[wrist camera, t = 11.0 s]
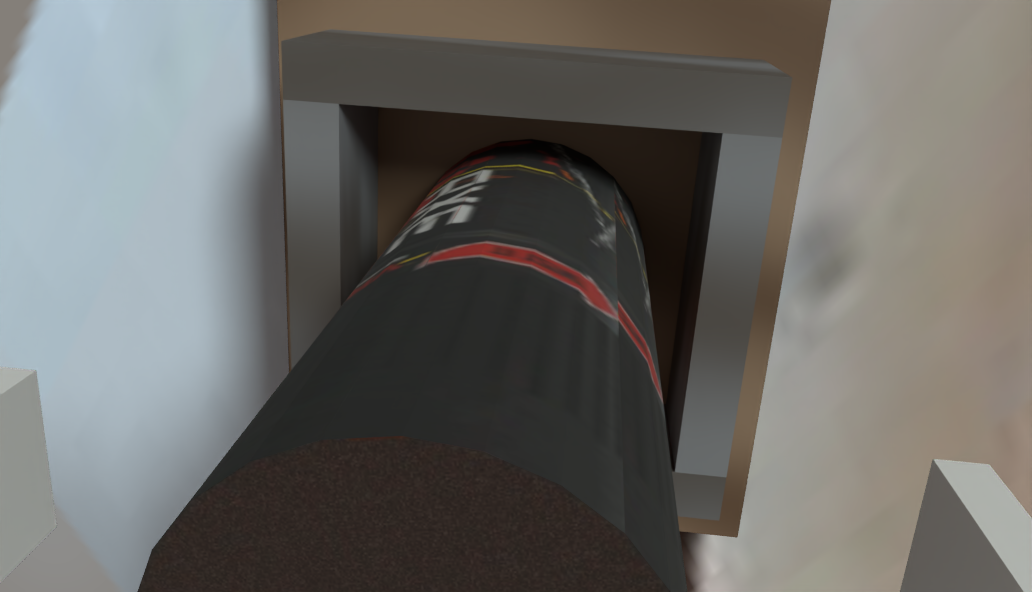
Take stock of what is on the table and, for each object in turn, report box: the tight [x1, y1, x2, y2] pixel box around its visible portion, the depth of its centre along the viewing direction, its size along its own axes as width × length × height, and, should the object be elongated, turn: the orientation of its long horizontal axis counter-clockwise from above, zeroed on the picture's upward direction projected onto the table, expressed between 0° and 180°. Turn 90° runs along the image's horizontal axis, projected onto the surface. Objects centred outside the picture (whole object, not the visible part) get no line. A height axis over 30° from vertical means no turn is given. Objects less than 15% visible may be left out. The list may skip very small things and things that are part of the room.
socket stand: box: [277, 0, 831, 537], centre depth 22 cm, size 16×13×5 cm
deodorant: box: [138, 139, 687, 592], centre depth 16 cm, size 6×6×15 cm
